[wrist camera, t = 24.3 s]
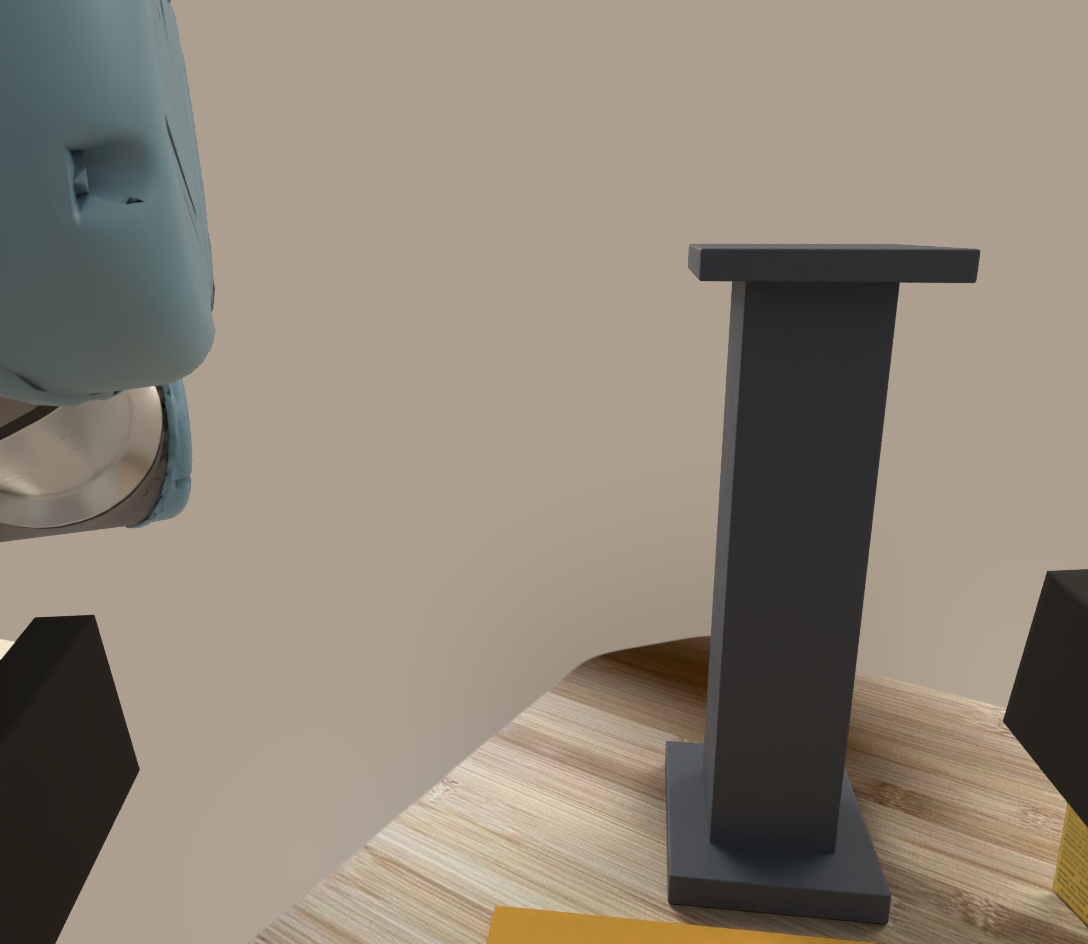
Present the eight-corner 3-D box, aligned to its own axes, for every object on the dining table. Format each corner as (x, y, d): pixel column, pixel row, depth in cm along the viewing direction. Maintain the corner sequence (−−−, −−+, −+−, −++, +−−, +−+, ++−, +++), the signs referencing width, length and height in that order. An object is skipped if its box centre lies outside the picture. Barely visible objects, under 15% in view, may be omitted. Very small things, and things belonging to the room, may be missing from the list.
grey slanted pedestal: (667, 904, 40) (700, 248, 32) (665, 763, 50) (688, 243, 42) (888, 925, 39) (981, 249, 30) (838, 776, 49) (897, 244, 41)
